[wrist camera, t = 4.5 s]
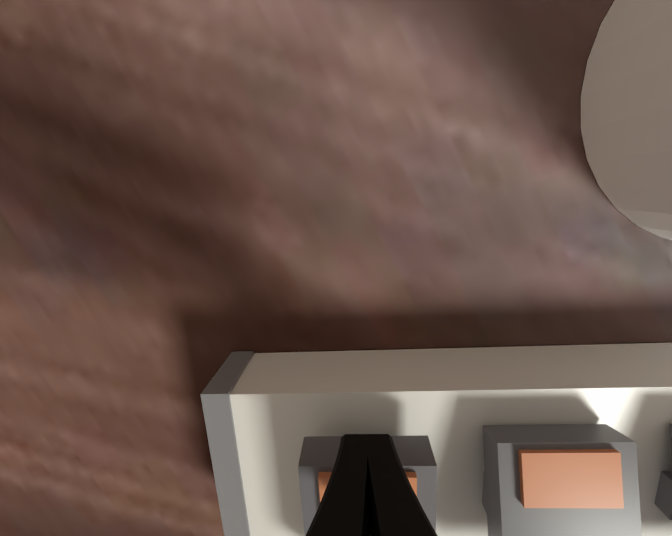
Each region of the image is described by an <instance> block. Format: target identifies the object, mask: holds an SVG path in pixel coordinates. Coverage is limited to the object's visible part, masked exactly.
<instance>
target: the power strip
mask: <svg viewBox="0 0 672 536" xmlns="http://www.w3.org/2000/svg"><path fill="white" fill-rule="evenodd" d="M200 395H201V401H202V407H203V413H204V419H205V425H206V431H207V436H208V442H209V448H210V454H211V460H212V466H213V472H214V478H215V483H216V489H217V495H218V501H219V507H220V513H221V519H222V524H223V530H224V536H305V533H304V523H303V512H302V502H301V492H300V481H299V471H298V464H299V459H300V454H301V449H302V444H303V439H304V437H310V436H343V435H345V434H389V435H390V436H419V435H428V438H429V441H430V445H431V448H432V451H433V455H434V458H435V461H436V465H437V488H436V534H437V535H438V536H488V524H487V505H486V485H485V465H484V446H483V426H482V425H559V424H607V425H608V426H610V427H612V428H613V429H615V430H617V431H618V432H620V433H622V434H623V435H625V436H627V437H628V438H630V439H632V440H633V441H635V442H636V448H637V464H638V480H639V496H640V512H641V528H642V536H672V455H671V440H670V424H669V423H672V343H636V344H596V345H557V346H517V347H478V348H439V349H399V350H360V351H320V352H281V353H254V351H239V352H231V354H230V355H229V356H228V358H227V359H226V360H225V362H224V363H223V364H222V366H221V367H220V368H219V370H218V371H217V372H216V374H215V375H214V376H213V378H212V379H211V381H210V382H209V383H208V385H207V386H206V387H205V389H204V390H203V391H202V393H201V394H200Z"/></svg>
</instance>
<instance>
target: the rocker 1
mask: <svg viewBox="0 0 672 536" xmlns="http://www.w3.org/2000/svg"><path fill="white" fill-rule="evenodd" d="M341 437H342V436H310V437H304V439H303V444H302V449H301V454H300V459H299V464H298V471H299V481H300V492H301V502H302V512H303V523H304V533H305V536H306V534H307V531H308V529H309V527H310V525H311V523H312V521H313V518H314V516H315V514H316V512H317V509H318V507H319V505H320V502H321V500H322V497H323V494H324V492H325V489H326V487H327V484H328V482H329V479H330V476H331V473H332V470H333V467H334V464H335V461H336V458H337V454H338V450H339V446H340V441H341ZM391 437H392V439H393V442H394V445H395V448H396V451H397V454H398V457H399V459H400V462H401V464H402V466H403V469H404V471H405V473H406V476H407V478H408V480H409V482H410V484H411V486H412V488H413V490H414V492H415V494H416V496H417V498H418V500H419V502H420V504H421V506H422V508H423V510H424V512H425V514H426V516H427V518H428V519H429V521H430V523H431V525H432V527H433V529H434V530H435V532H436V488H437V465H436V461H435V458H434V455H433V451H432V448H431V445H430V441H429V438H428V435H419V436H391Z"/></svg>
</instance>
